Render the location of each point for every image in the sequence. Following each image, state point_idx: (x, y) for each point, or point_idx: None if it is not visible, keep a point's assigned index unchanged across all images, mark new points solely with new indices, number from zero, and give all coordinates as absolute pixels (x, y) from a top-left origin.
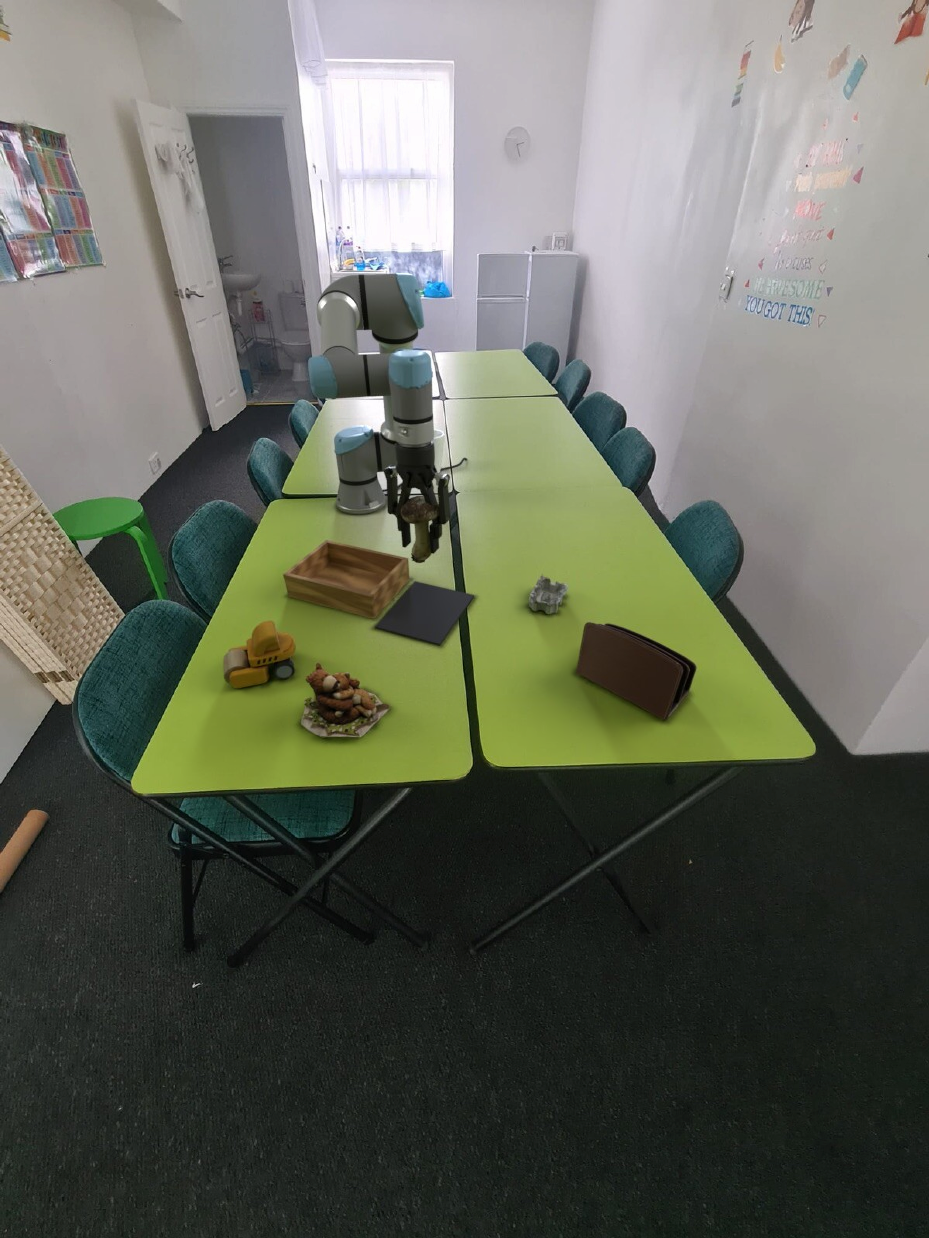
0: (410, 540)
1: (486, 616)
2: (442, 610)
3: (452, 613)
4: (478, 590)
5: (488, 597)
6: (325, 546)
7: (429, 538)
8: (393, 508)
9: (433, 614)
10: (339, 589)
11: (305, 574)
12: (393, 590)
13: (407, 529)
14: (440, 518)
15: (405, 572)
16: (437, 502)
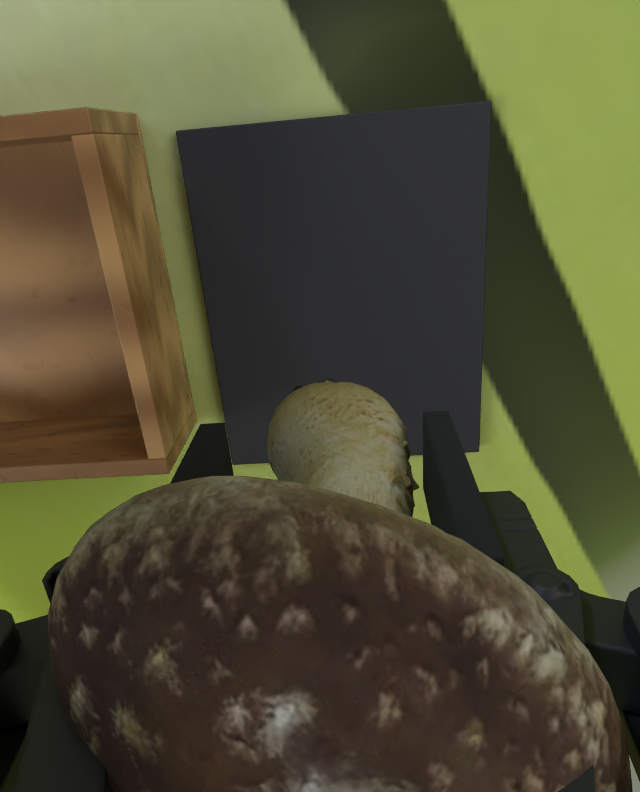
0: (222, 439)
1: (587, 218)
2: (404, 281)
3: (452, 282)
4: (488, 29)
5: (556, 67)
6: None
7: (411, 514)
8: (22, 740)
9: (383, 320)
10: (25, 480)
11: None
12: (158, 282)
13: None
14: (629, 745)
15: (123, 154)
16: (593, 787)
